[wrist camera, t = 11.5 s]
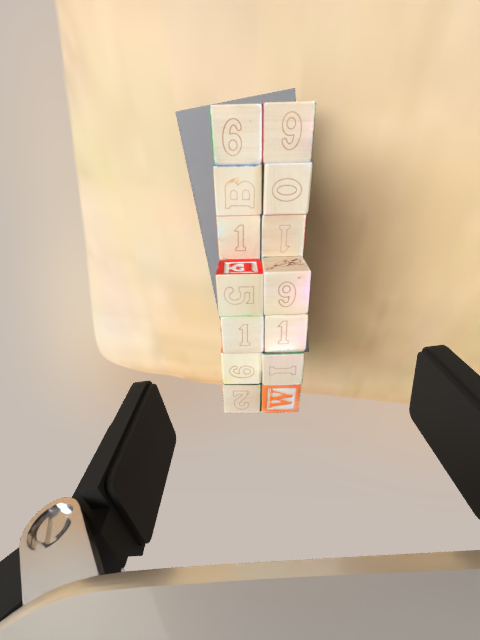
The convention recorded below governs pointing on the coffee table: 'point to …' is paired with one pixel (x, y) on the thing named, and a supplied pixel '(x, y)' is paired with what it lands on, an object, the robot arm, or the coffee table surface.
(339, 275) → the coffee table surface
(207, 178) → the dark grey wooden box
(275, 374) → the stack of blocks
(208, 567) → the robot arm
